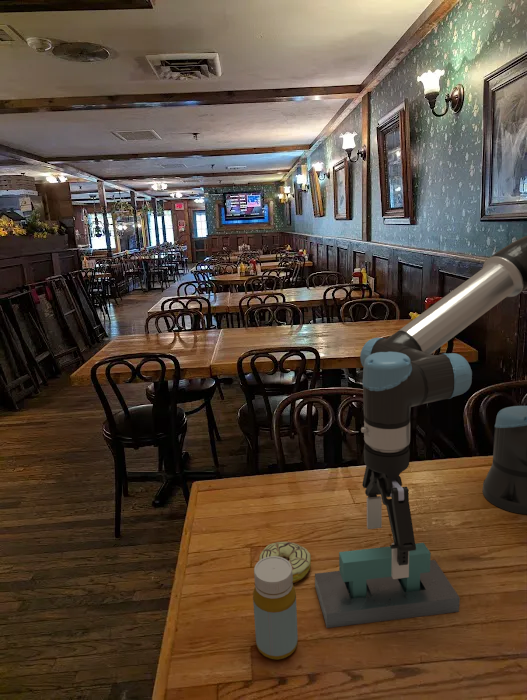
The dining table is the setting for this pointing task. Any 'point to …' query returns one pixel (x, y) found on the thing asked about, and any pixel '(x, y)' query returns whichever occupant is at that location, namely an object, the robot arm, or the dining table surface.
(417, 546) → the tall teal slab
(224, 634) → the dining table surface
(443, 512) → the dining table surface
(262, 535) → the dining table surface
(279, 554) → the decorated donut
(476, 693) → the dining table surface
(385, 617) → the slotted metal plate
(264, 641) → the bottle
